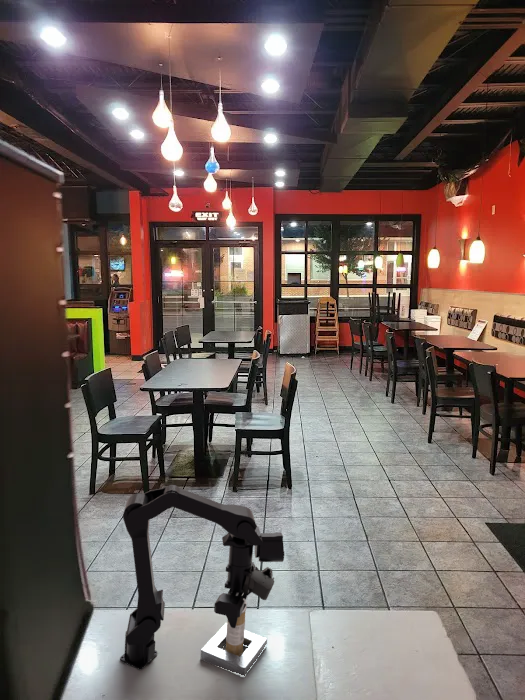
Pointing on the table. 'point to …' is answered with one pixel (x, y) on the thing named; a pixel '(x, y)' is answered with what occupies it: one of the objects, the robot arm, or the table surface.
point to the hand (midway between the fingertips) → (236, 621)
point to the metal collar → (228, 660)
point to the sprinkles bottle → (236, 635)
